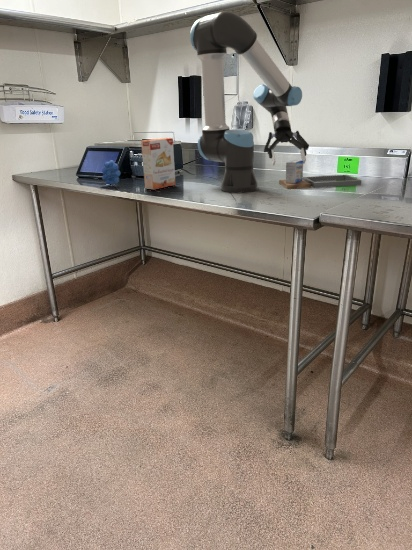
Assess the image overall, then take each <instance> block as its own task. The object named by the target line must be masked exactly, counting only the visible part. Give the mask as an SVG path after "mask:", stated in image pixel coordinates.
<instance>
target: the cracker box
mask: <svg viewBox="0 0 412 550" xmlns="http://www.w3.org/2000/svg"><path fill="white" fill-rule="evenodd" d="M140 141H141V142H140V143H141V154H142V155H141V156H142V166H143V178H144V180H143V181H144V189H145V188H147V189H159V188H163V187H167V186H172V185H175V186H176V173H175V171H176V170H175V169H176V168H175V154H174V139H173V137H172V138H171V137H162V138H152V139H144V140H140Z"/></svg>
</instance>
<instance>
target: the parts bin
mask: <svg viewBox="0 0 412 550" xmlns="http://www.w3.org/2000/svg"><path fill="white" fill-rule="evenodd" d="M303 180H305V181H306V182H308V183H310V184H311V188H313V189H315V188H316V189H317V188H334V187H335V188H336V187H348V186H349V187H351V186H361V185H362V179H359V178H357V177H354V176H351V175H349V174H337V175H336V174H335V175H317V176H316V175H315V176H303Z"/></svg>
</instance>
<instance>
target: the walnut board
mask: <svg viewBox="0 0 412 550" xmlns="http://www.w3.org/2000/svg"><path fill="white" fill-rule="evenodd" d="M278 184H279V185H281V186H282V187H283V188H285V189H286V190H291V189H292V190H293V189H309V188H312V187H311V184H310V183H308V182H306V181H305V180H302V181H300V182H298V183H295V184H294V183H286V179H280V180H278Z"/></svg>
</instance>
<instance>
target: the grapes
mask: <svg viewBox="0 0 412 550" xmlns="http://www.w3.org/2000/svg"><path fill="white" fill-rule="evenodd" d="M103 166H104V167H103V168H101V172H102V173H103V175H102V180H103V181H105V185H107V184H115V185H116V184H118V183H119V182H120V178H119V177H120V176H121V171H120V170H119V164H118V163H115V161H114V160H112V159H110V160H109V161H105V163H104V165H103Z"/></svg>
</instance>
